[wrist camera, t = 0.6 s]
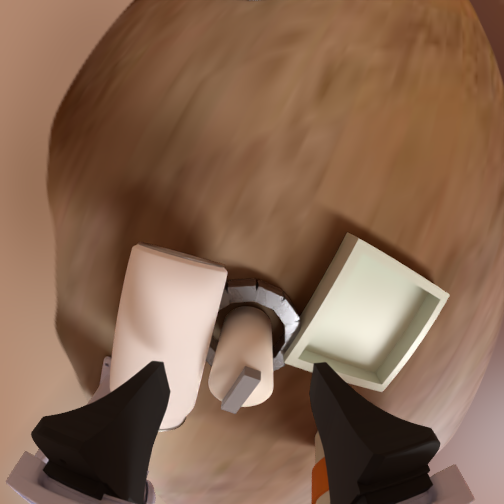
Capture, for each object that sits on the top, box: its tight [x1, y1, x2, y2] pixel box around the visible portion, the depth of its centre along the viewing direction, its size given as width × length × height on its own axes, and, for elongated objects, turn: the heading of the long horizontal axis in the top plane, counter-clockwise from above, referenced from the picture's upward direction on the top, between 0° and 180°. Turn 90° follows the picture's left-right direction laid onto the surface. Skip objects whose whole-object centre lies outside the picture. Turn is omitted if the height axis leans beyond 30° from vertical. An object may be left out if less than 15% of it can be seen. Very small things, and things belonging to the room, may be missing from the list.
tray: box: [283, 232, 449, 392], centre depth 20 cm, size 11×11×2 cm
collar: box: [206, 278, 301, 371], centre depth 21 cm, size 8×8×2 cm
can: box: [110, 242, 228, 432], centre depth 17 cm, size 6×6×12 cm
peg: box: [208, 306, 273, 414], centre depth 18 cm, size 4×4×8 cm
